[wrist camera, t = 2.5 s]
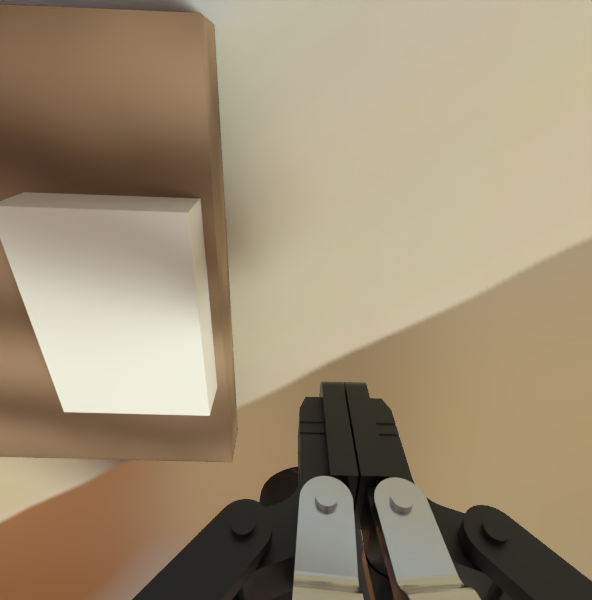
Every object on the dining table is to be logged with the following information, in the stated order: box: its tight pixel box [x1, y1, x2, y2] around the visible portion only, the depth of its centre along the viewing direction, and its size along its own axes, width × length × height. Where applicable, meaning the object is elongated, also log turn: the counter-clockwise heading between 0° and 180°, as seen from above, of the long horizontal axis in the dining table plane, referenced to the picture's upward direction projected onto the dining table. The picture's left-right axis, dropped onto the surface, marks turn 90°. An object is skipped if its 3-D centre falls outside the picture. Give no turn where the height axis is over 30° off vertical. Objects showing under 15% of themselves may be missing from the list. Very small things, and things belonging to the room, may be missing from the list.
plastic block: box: [0, 192, 217, 416], centre depth 17 cm, size 10×7×2 cm
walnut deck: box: [0, 4, 238, 462], centre depth 18 cm, size 22×14×2 cm, turn 178°
